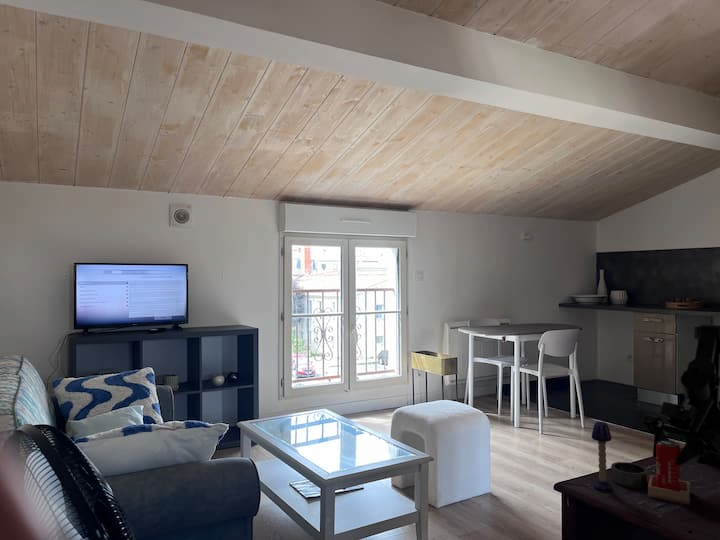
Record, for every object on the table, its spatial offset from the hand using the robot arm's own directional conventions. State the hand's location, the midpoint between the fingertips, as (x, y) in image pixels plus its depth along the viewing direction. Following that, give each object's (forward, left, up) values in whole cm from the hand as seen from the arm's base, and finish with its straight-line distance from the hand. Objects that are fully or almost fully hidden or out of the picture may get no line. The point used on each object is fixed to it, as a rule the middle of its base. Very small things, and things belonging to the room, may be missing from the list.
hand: (665, 460), depth 135 cm
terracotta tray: (-1, +1, -8) cm, 9 cm away
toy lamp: (+4, -14, -9) cm, 17 cm away
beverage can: (-1, +1, -8) cm, 8 cm away
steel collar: (-5, -8, -8) cm, 13 cm away
